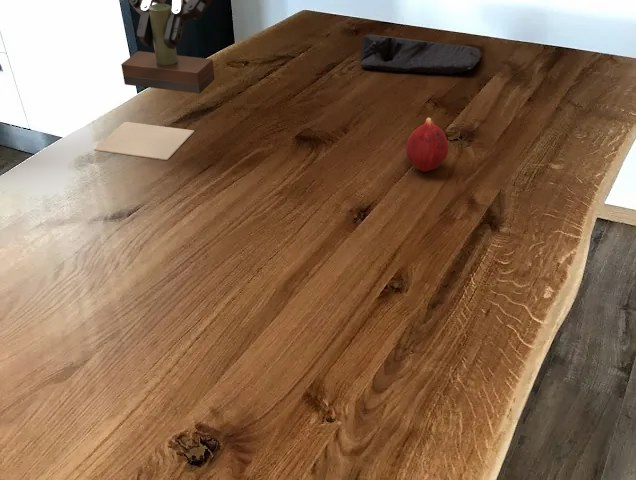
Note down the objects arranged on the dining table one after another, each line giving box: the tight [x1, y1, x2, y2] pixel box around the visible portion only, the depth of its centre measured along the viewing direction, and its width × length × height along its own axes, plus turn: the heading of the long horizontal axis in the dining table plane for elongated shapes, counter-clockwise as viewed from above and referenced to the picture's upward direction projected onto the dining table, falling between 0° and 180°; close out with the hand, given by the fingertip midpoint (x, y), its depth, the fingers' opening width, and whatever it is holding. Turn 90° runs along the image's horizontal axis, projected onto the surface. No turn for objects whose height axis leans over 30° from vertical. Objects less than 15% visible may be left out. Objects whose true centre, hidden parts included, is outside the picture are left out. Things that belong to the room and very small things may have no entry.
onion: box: [405, 117, 449, 173], centre depth 102 cm, size 6×6×8 cm
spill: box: [93, 121, 195, 161], centre depth 112 cm, size 12×10×1 cm
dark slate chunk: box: [359, 34, 482, 75], centre depth 136 cm, size 15×22×5 cm
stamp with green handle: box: [120, 3, 215, 95], centre depth 96 cm, size 11×5×10 cm, turn 74°
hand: (157, 44), depth 94 cm, fingers closed on stamp with green handle, 3 cm apart
